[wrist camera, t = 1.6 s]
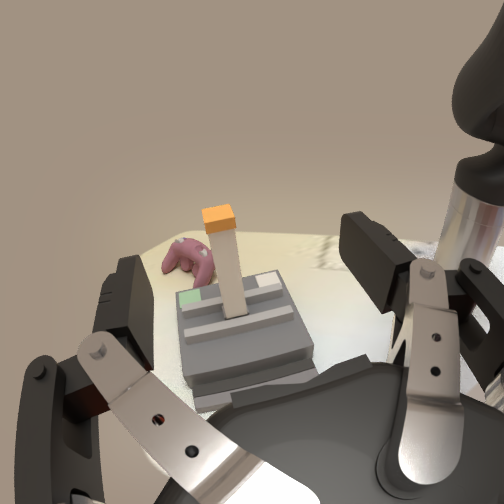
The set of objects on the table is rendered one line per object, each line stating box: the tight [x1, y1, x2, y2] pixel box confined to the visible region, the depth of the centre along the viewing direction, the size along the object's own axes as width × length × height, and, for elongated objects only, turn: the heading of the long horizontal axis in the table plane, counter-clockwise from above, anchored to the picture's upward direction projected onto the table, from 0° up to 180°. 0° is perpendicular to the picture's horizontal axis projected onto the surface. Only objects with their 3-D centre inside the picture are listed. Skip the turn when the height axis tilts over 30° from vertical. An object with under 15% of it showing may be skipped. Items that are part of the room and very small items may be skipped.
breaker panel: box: [176, 270, 314, 389], centre depth 37 cm, size 15×14×4 cm
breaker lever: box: [202, 204, 249, 321], centre depth 32 cm, size 3×3×14 cm
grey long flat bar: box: [192, 358, 319, 413], centre depth 31 cm, size 14×3×1 cm, turn 104°
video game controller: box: [161, 238, 215, 289], centre depth 47 cm, size 10×5×7 cm, turn 51°
